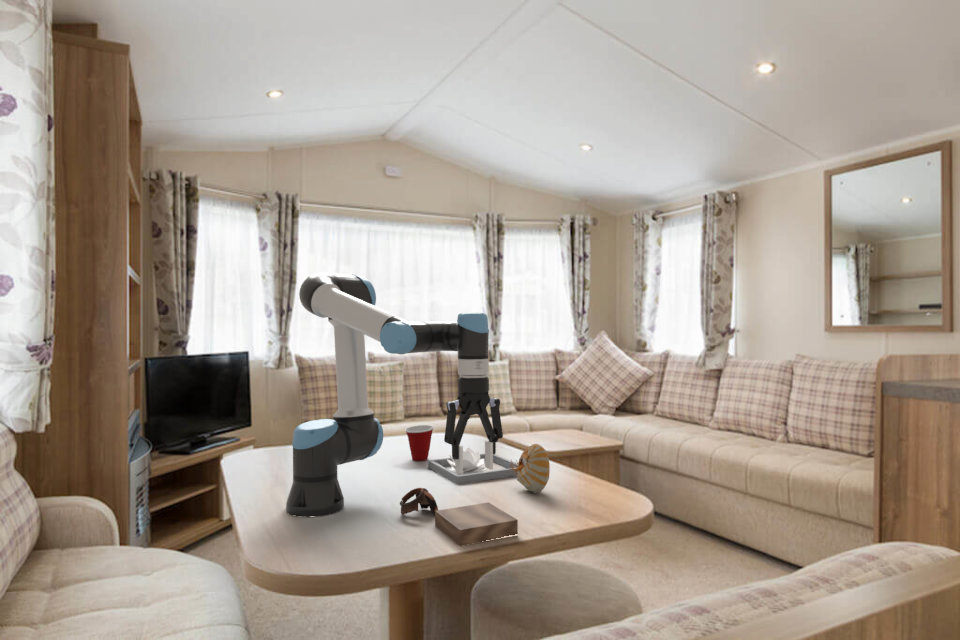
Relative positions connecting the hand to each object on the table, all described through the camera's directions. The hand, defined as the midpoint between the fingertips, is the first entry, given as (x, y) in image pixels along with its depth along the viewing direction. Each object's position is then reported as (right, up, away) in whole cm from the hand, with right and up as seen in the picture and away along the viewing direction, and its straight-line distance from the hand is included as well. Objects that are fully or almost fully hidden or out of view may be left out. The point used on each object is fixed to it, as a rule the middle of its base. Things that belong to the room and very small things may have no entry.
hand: (474, 470), depth 143 cm
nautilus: (+16, -16, +36) cm, 43 cm away
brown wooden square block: (0, -16, 0) cm, 16 cm away
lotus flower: (-3, -16, +56) cm, 58 cm away
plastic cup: (-21, -16, +76) cm, 81 cm away
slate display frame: (0, -15, +59) cm, 61 cm away
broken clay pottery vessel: (-13, -17, +14) cm, 25 cm away
